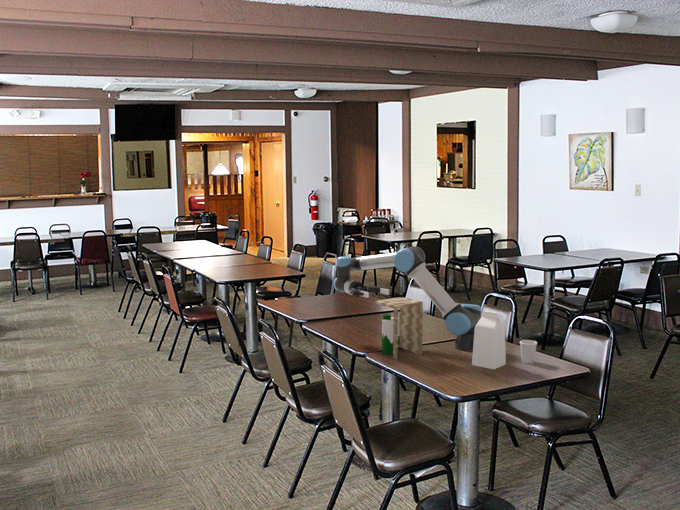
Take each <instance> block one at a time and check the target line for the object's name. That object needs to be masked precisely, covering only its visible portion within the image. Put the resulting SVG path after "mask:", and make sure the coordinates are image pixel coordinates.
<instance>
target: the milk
mask: <svg viewBox="0 0 680 510" xmlns="http://www.w3.org/2000/svg"><path fill="white" fill-rule="evenodd" d="M506 357H507V355H506V328H505V325H504V323H503V322H502V321H501V319H500V318H499V317H498V313H497V312H496V311H489V310H484V311H483V313H482V314H481V318H480V320H479V321H478V323H477V324H476V326H475V330H474V343H473V351H472V357H471V366H475V367H481V368H485V369H490V370H496V368H497V369H499V368H500V367H503V366H506V363H507V359H506Z"/></svg>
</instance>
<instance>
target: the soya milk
mask: <svg viewBox="0 0 680 510" xmlns="http://www.w3.org/2000/svg"><path fill="white" fill-rule="evenodd" d="M381 319H382V320H381V349H382V355H383V356H384V355H386V356H393V319H394V316H391V314H388V313H384V314H382V318H381ZM399 349H400V317H398V349H397V354H399Z"/></svg>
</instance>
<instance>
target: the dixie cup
mask: <svg viewBox="0 0 680 510" xmlns="http://www.w3.org/2000/svg"><path fill="white" fill-rule="evenodd" d="M519 345H520V355H521V362H522V363H524V364H528V363H530V364H534V363H535V356H536V352H537V345H538V342H537V341H536V340H530V339H522V340H519Z"/></svg>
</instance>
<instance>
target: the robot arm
mask: <svg viewBox="0 0 680 510" xmlns="http://www.w3.org/2000/svg"><path fill="white" fill-rule="evenodd" d="M425 260H426V254H425V252H424V250H423V249H422V248H421V247H419V246H410V247H404V248H401V249H399V250H398V251H394V252H389V253H388V252H387V253H382V254H381V253H380V254H373V255H366V256H365V255H364V256H355V257H352V258H351V257H349V256H339V257H338V256H337V258H336V278H334V280H333V281H332V282H333V283H332V287H333V288H334V289H335V290H336V291H339V292H341V293H346V294H349V295H350V296H354V297H355V296H356V297H357V298H360V297H362V298H366V299H367V298H369V297H370V296H369V295H370V293H380V294H383V295H387V296H390V289H388V288H385V287H384V286H374V285H363V283H362V282H360V281H357V280H353V279H351V273H354V272H358V271H366V270H373V269H382V268H383V269H384V268H390V267H395V269H396V270H397V271H399V272H401V273H404V274H405V275H406V276H407V278H410V279H413V281H414V282H416V284H417V285H418V286H419V287H420V289H421V290H422V291H423V292H424V294H425V295H426V296H427V297H428V298H429V300H430V301H431V302H432V303H433V305H435V307H436V308H437V309H438V310H439V311H440V312H441V314H442V316H441V318H442V319H443V321H444V322H445V327H446V329H447V331H448V332H450V333H451V334H452V335H455V336H456V338H455V340H454V348H455V349H457V350H461V351H467V352H473V343H474V330H475V326H476V324H477V323H478V321H479V320H480V318H481V317H482V307H481V306H480V305H478V304H470V303H459V302H455V301H454V300H453V299H452V297H451V296H450V295H449V294H448V292H447V291H446V290H445V288H443V286H442V285H441V284H440V283H439V281H437V279H436V278H435V277H434V276H433V275H432V273H431V272H430V271H429V269H428V268H427V267H426V262H425Z"/></svg>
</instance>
